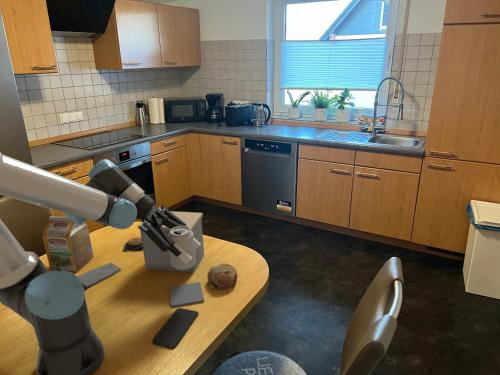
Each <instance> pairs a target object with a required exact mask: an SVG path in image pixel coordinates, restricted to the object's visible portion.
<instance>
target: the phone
mask: <svg viewBox="0 0 500 375" xmlns="http://www.w3.org/2000/svg"><path fill="white" fill-rule="evenodd" d="M198 317H199V312H198V310H197V311H196V310H193V309H187V308H183V307H179V308H176V309H175V311H173V313H172V314H171V315H170V317H168V319H167V320H166V322H165V323H164V324H163V325H162V327H160V329H159V330H158V331H157V333H156V334H154V336H153V338H152V339H151V344H153V346H159V347H163V348H165V349H166V348H168V349H175V348H177V347H178V346H179V344H180V342H181V341H182V340H183V339H184V338H185V335H186V334H187V332H189V329H190V328H191V326H192V325H194V324H193V323H195V320H197V318H198Z"/></svg>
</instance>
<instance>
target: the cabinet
mask: <svg viewBox="0 0 500 375" xmlns="http://www.w3.org/2000/svg"><path fill="white" fill-rule="evenodd" d="M169 211H170V210H169ZM170 212H171V213H173V214H174V215H175V216H177V217H178V218H179V219H180V220H182V221H183V222H184V223H185V224H186V226H187V227H189V228H190V229H191V231H192V232H193V235H194V238H195V239H196V240H197V241H198V242H199V243H200V244H201V245H200V246H199V247H198V248H197V249H196V250H195V256H196V263H195V264H194V265H193V266H192V267H191V268H189V269H187V270H178V269H176V268H174V267H173V266H172V265H171V257H170V251H169V250H168V251H167V252H162V251H161V250H160V248H159V247H158V246H157V245H156V244H155V243H154V242H153V241H152V240H151V239H150V238H149V237H148V235H147V234H146V233H144V232H143V231H141V230H140V229H139V227H140V226H141V225H142V224H143V222H142V221H141V222H140V223H139V224H138V225H137V230H139V232H140V238H141V239H142V246H143V250H142V251H143V258H144V267H145V269H146V270H158V271H166V272H167V271H168V272H169V271H170V272H181V273H193V274H194V273H195V271H196V270H197V268H198V267H199V266H200V263H201V261H202V260H203V258H204V256H205V248H204V236H203V225H202V222H203V221H202V218H203V214H204V213H203V212H190V211H170ZM162 227H163V229H164V230H165V232H166V233H167V235H169V234H170V230H171V229H170V228H168V227H166V226H164V225H162ZM168 244H169V243H168ZM163 247H164V246H163Z"/></svg>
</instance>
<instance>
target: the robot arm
mask: <svg viewBox="0 0 500 375" xmlns="http://www.w3.org/2000/svg"><path fill="white" fill-rule="evenodd" d="M87 175H88V177H89V181H87V182H86V183H85V184H83V183H80V182H77V181H75V180H72V179H69V178H67V177H64V176H62V175H59V174H56V173H53V172H52V171H48V170H45V169H44V168H40V167H37V166H35V165H32V164H29V163H26V162H24V161H22V160H18V159H16V158H13V157H11V156H8V155H5V154H3V153H1V152H0V196H3V197H8V198H11V199H15V200H18V201H21V202H25V203H28V204H32V205H36V206H39V207H42V208H47V209H51V210H52V211H53V210H54V211H57V212H60V213H63V214H64V216H65V217H68V218H69V219H70V220H71V221H73V222H74V223H76V224H82V223H83V222H85V223H86V222H87V221H88V220H89V221H92V222H95V223H99V224H103V225H106V226H109V227H110V228H113V229H118V230H126V229H129V228H131V226H133V225H134V223H135V221H136V220H140V221H141V222H143V224H142V225H141V226H140V227H139V229H138V230H139V231H140V230H141V231H143V232H144V233H146V234H147V235H148V237H149V238H150V239H151V240H152V241H153V242H154V243H155V244H156V245H157V246H158V247H159V248H160V250H161V251H162V252H167V251H168V250H169V251H171V252H172V253H173V254H174V255H175V256H176V257H178V258H179V259H180V260H181V261H183V262H184V263H185V264H187V263H188V262H189V261H190V260H191V259H192V257H191V256H190V255H189V254H187V253H186V252H185V251H184V250H183V249H182V248H181V247H180V246H179V245H178V244H176V243H175V244H173V242H172V241H171V239H170V238H169V236H168V235H167V233H166V232H165V230H164V229H163V227H162V225H164V226H166V227H168V228H170V229H172V228H174V227H177V226H186V224H185V223H184V222H183V221H182V220H180V219H179V218H178V217H177V216H175V215H174V214H173V213H171V212H170V210H169V209H168V208H167V207H166V206H165V205H164V204H162V205H160V206H159V207H158V206H155V200H154V199H153V198H152V197H151V196H150V195H149V194H145V190H143V188H141V187H140V186H139V185H138V184H137V183H136V182H134V181H133V180H132V179H131V178H129V176H128V175H127V174H126V173H125V172H123V171H122V170H121V168H120V167H119V166H117V165H116V164H115V163H113V162H112V161H111V160H109V159H107V158H103V159H101V160H100V161H98V162H97V163H95V165H94V166H92V168H90V170H89V171H88V174H87ZM168 243H169V244H168ZM194 245H195V250H196V249H197V248H198V247H199V246H200V245H201V244H200V243H199V242H198V241H197V240H196V239H195V238H194ZM163 246H164V247H163ZM85 291H86V290H85ZM85 291H84V288H83V286H82V284H81V281H80V279H79V278H78V275H76V273H73V272H67V271H61V272H60V271H51V270H50V269H48V268H47V267H46V265H45V264H44V262H43V261H42V260H41V259H40V257H39V256H38V254H36V252H33V251H26V250H24V247H23V246H22V245H21V244H20V243H19V241H18V240H17V238H16V237H15V236H14V235H13V234H12V232H11V231H10V229H9V228H8V227H7V226H6V224H5V223H4V222H3V220H2V219H1V218H0V303H1V304H2V305H3V306H5V307H6V308H8V309H10V310H12V311H13V312H14V313H15V314H17V316H18V315H19V317H21V318H22V319H24V320H25V321H26V322H27V323H29V324H31V326H32V328H33V330H34V333H35V337H36V339H37V344H38V353H37V354H38V355H37V360H36V374H37V375H93V374H94V373H95V372H96V371H97V370H98V369H99V368H100V366H101V365H102V363H103V361H104V358H105V349H104V344H103V342H102V340H101V339H100V337H99V336H98V335H97V333H96V332H95V331H94V328H92V325H91V319H90V314H89V310H88V305H87V301H86V293H85Z"/></svg>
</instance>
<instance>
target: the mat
mask: <svg viewBox="0 0 500 375" xmlns="http://www.w3.org/2000/svg"><path fill="white" fill-rule="evenodd" d="M169 299H170V307H171V308H176V307H181V306H186V305H187V306H188V305H193V304H198V303H199V304H200V303H203V302H205V298H204V292H203V288H202V284H201V281H198V282H197V281H196V282H191V283H185V284H179V285H173V286H169Z"/></svg>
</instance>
